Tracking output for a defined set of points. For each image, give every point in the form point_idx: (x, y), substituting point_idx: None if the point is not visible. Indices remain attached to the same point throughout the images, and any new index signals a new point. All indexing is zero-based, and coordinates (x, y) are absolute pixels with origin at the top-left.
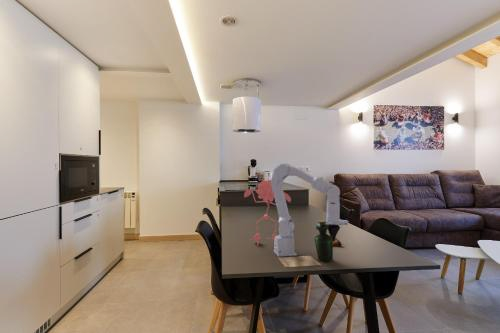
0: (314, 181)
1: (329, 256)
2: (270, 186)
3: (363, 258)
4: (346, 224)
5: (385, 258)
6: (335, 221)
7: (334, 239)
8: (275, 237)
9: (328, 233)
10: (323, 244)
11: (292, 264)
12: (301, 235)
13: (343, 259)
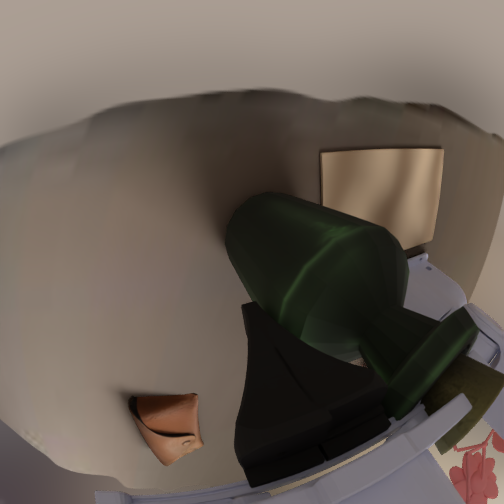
0: None
1: (270, 201)
2: (479, 497)
3: (36, 275)
4: (120, 499)
5: None
6: (392, 494)
7: (253, 313)
8: None
9: (173, 458)
10: (368, 222)
11: (423, 169)
12: None
13: (147, 250)
